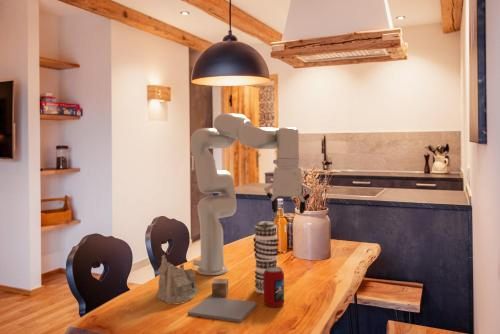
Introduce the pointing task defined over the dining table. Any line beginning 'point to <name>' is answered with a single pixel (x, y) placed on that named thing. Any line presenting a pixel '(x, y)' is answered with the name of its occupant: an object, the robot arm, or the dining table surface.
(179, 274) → the ceramic cottage
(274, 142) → the robot arm
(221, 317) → the slate board
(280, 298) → the beverage can
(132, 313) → the dining table surface
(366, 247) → the dining table surface
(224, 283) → the walnut block
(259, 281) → the decorative candle
